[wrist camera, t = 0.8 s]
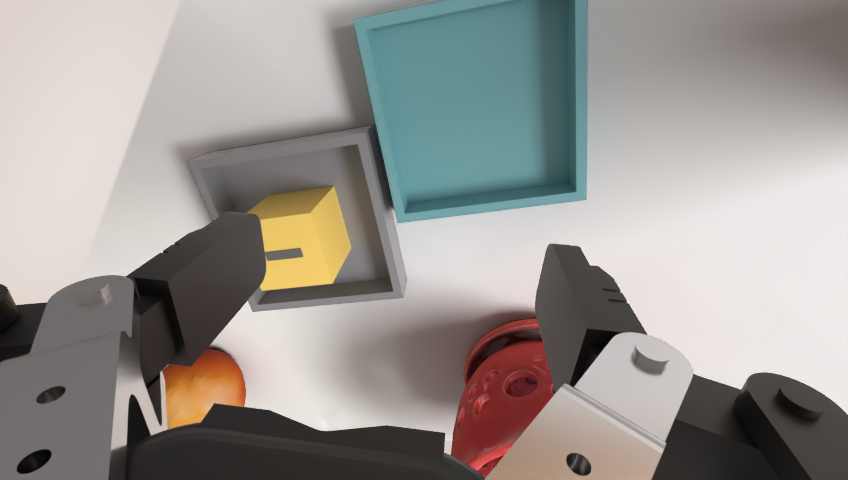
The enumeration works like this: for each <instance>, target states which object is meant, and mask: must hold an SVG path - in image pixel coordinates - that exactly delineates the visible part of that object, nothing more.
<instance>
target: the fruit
mask: <svg viewBox="0 0 848 480" xmlns="http://www.w3.org/2000/svg"><path fill="white" fill-rule="evenodd" d="M162 372H163V376H164V379H165V391H166V410H167V429H171V428H175V427H178V426H183V425H188V424H193V423H201V421H202V420H203V419H204V417H205V416H206V414H207V413H208V411H209V410H210V409H211V407H212V406H213V404H214V403H216V404H224V405H232V406H240V407H244V404H245V398H246V388H245V382H244V378H243V374H242V371H241V369H240V368H239V366H238V365H237V363H236V362H235V361H234V359H233V358H232V357H230V356H229V355H228V354H226V353H224V352H221V351H218V350H212V349H208V348H207V349H206V350H205V351H204V352H203V353H202V355H201V356H200V357H199V358H198V359H197V360H196V362H195V363H194V364H193V365H192V366H191V367H189V366H181V365H173V364H169V365H168V366H167V367H166V368H165V369H163V370H162Z"/></svg>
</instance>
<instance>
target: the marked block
mask: <svg viewBox="0 0 848 480" xmlns="http://www.w3.org/2000/svg"><path fill="white" fill-rule="evenodd" d="M247 213H250V214H256V215H257V216H258V217H259V219H260V223H261V229H262V236H263V243H264V251H265V258H266V274H265V277H264V280H263V282H262V284H261V285H260V288H261V290H262V291H265V290H275V289H285V288H294V287H304V286H314V285H324V284H332V283H333V282H334V280H335V278H336V276H337V274H338V272H339V270H340V269H341V267H342V265H343V263H344V261H345V259H346V257H347V256H348V254H349V252H350V250H351V244H350V241H349V237H348V233H347V230H346V226H345V223H344V219H343V216H342V212H341V209H340V205H339V202H338V198H337V194H336V191H335V187H334V186H330V187H323V188H316V189H309V190H302V191H295V192H288V193H281V194H274V195H269V196H267V197H266V198H265V199H264V200H262V201H261V202H260V203H259V204H257V205H256V206H255V207H253V208H252V209H251V210H250V211H248V212H247Z"/></svg>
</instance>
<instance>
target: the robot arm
mask: <svg viewBox="0 0 848 480" xmlns="http://www.w3.org/2000/svg"><path fill="white" fill-rule="evenodd" d="M265 274H266V258H265V251H264V243H263V236H262V229H261V223H260V219H259V217H258V216H257V215H256V214H250V213H240V212H230V211H228V212H225V213H224V214H222V215H221V216H220V217H218V218H217V219H215V220H214V221H212V222H211V223H210V224H208V225H207V226H205V227H204V228H202V229H199V230H196V231H194V232H191V233H189V234H187V235H186V236H184V237H183V238H181V239H180V240H178V241H177V242H175V244H174V245H171V246H170V247H168V248H167V249H165V250H164V251H163V253H159V254H158V255H157V256H155V257H154V258H152V259H151V260H149V261H148V262H146V263H145V264H143V265H142V266H141V267H139V268H138V269H136V270H135V271H133V272H132V273H130V274H129V275H127V276H126V277H124V276H117V275H108V276H99V277H94V278H89V279H86V280H82V281H79V282H76V283H74V284H71V285H69V286H67V287H65V288H63V289H61V290H60V291H58V292H57V293H55V294H54V295H53V296H52V297H51V298H50V299H49V300H48V302H47V303H36V304H25V305H15V303H14V301H13V299H12V297H11V295H10V293H9V291H8V289H7V287H5V286H4V285H1V284H0V480H651V479H652V480H848V415H847V414H846V413H845V412H844V411H843V410H842V409H841V408H840V407H839V406H838V405H837V404H836V403H834V402H833V401H832V400H831V399H829V398H828V397H826V396H825V395H823V394H822V393H820V392H818V391H817V390H815V389H813V388H811V387H810V386H808V385H806V384H803V383H801V382H799V381H797V380H794V379H791V378H789V377H785V376H782V375H778V374H773V373H756V374H753V375H751V376H750V377H749V378H748V379H747V381H746V383H745V384H744V386H743V388H742V389H741V390H740V389H737V388H734V387H731V386H728V385H725V384H721V383H718V382H715V381H712V380H709V379H706V378H703V377H700V376H697V375H695V374H693V369H692V367H691V365H690V363H689V361H688V360H687V359H686V358H685V356H684V355H683V354H681V353H680V352H679V351H678V350H677V349H675V348H674V347H673V346H671V345H669V344H668V343H666V342H664V341H662V340H660V339H657V338H655V337H652V336H649V335H647V333H646V331H645V330H644V328H643V327H642V325H641V323H640V322H639V320H638V318H637V317H636V315H635V313H634V312H633V310H632V309H631V307H630V305H629V304H628V303H627V300H626V299H625V297H624V295H623V294H622V293H620V289H619V287H618V286H617V284H616V282H615V281H614V279H613V278H612V277H611V276H610V275H609V274H607V273H606V272H605V271H603V270H602V269H601V268H600V267H598V266H590V265H589V263H588V261H587V259H586V257H585V256H584V254H583V252H582V250H581V248H580V247H579V246H571V245H560V244H549V245H548V247H547V250H546V253H545V258H544V262H543V267H542V271H541V275H540V280H539V284H538V289H537V293H536V301H535V311H536V317H537V321H538V325H539V330H540V334H541V338H542V342H543V346H544V350H545V354H546V358H547V362H548V366H549V370H550V374H551V378H552V382H553V386H554V390H555V395H554V396H553V397H552V398H551V400H550V401H549V402H548V403H547V404H546V406H545V407H544V408H543V409H542V410H541V412H540V413H539V414H538V415H537V416H536V418H535V419H534V420H533V421H532V423H531V424H530V425H529V426H528V427H527V429H526V430H525V431H524V432H523V433H522V435H521V436H520V437H519V438H518V440H517V441H516V442H515V443H514V444H513V446H512V447H511V448H510V449H509V450H508V452H507V453H506V454H505V455H504V456H503V458H502V459H501V460H500V461H499V463H498V464H497V465H496V466H495V467H494V469H493V470H492V471H491V472H490V473H489V475H488V476H487V477H484V476H483V475H482V474H481V473H480V472H478V471H477V470H475V469H474V468H473V467H471V466H470V465H468V464H466V463H465V462H463V461H461V460H459V459H457V458H455V457H453V456H451V455H448V454H446V453H444V442H445V433H441V432H433V431H425V430H418V429H410V428H402V427H394V426H377V427H367V428H357V429H347V430H337V431H319V430H316V429H314V428H311V427H309V426H306V425H304V424H302V423H299V422H297V421H294V420H292V419H289V418H287V417H284V416H282V415H280V414H277V413H275V412H272V411H270V410H263V409H255V408H247V407H240V406H232V405H224V404H216V403H214V404H213V406H212V407H211V409H210V410H209V411H208V413H207V414H206V416H205V417H204V419H203V420H202V421H201V423H193V424H188V425H183V426H178V427H175V428H171V429H167V410H166V391H165V379H164V376H163V372H162V370H163V368H164V367H165V366H166V365H167V364H173V365H181V366H189V367H191V366H192V365H193V364H194V363H195V362H196V360H197V359H198V358H199V357H200V356H201V355H202V353H203V352H204V351H205V350H206V349H207V348H208V346H209V345H210V344H211V343H212V342H213V340H214V339H215V338H216V337H217V336H218V335H219V333H220V332H221V331H222V330H223V329H224V328H225V326H226V325H227V324H228V323H229V322H230V320H231V319H232V318H233V317H234V316H235V315H236V313H237V312H238V311H239V310H240V309H241V308H242V306H243V305H244V304H245V303H246V302H247V300H248V299H249V298H250V297H251V296H252V295H253V293H254V292H255V291H256V290H257V289H258V288H259V286H260V285H261V284H262V282H263V280H264V277H265Z"/></svg>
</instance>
